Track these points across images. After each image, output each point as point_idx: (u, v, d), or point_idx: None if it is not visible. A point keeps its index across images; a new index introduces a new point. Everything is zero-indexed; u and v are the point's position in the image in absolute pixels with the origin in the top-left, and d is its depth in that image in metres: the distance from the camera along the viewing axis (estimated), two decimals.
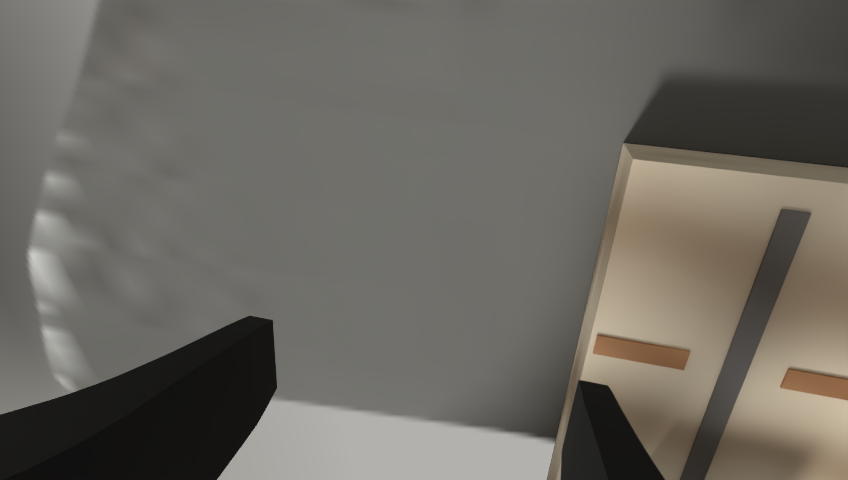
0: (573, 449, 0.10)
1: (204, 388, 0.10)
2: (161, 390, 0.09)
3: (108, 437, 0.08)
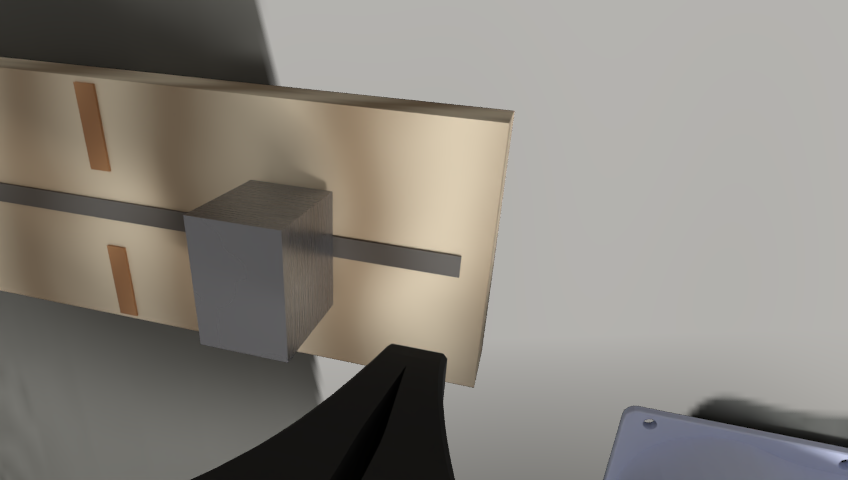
0: None
1: (377, 427, 0.09)
2: (355, 435, 0.08)
3: None
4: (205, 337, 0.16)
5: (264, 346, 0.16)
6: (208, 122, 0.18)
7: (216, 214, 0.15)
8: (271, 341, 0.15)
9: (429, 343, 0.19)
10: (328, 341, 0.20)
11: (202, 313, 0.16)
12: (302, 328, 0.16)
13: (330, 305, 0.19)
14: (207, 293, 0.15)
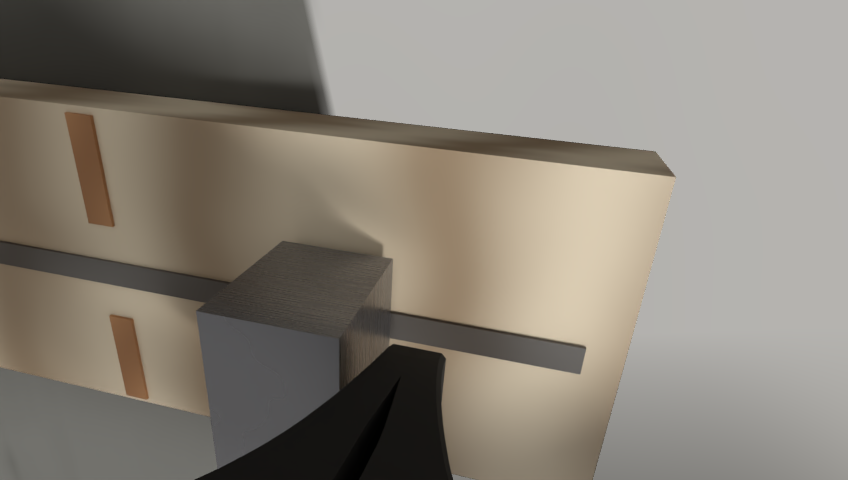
0: None
1: (379, 428, 0.09)
2: (357, 435, 0.08)
3: None
4: None
5: None
6: (245, 167, 0.13)
7: (242, 308, 0.10)
8: None
9: (529, 450, 0.15)
10: None
11: (221, 436, 0.11)
12: None
13: None
14: (227, 411, 0.11)
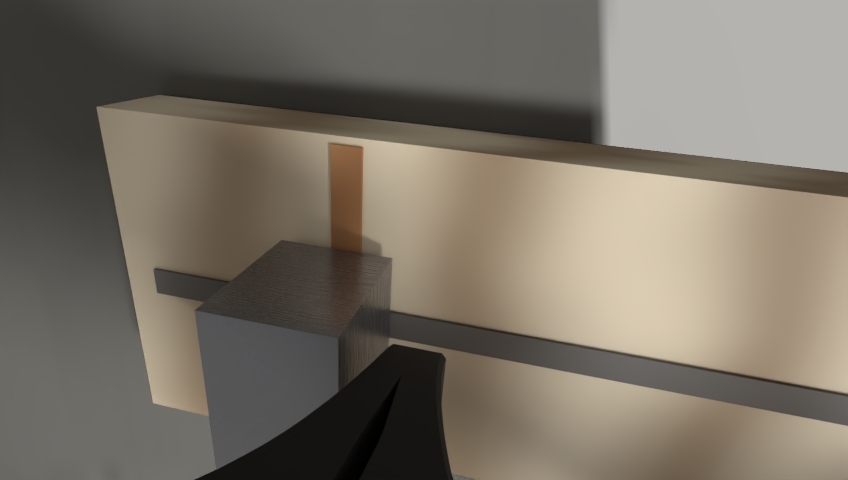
0: None
1: (379, 428, 0.09)
2: (357, 435, 0.08)
3: None
4: (223, 465, 0.12)
5: None
6: (544, 207, 0.12)
7: (241, 308, 0.10)
8: None
9: None
10: None
11: (220, 435, 0.11)
12: None
13: None
14: (226, 411, 0.11)
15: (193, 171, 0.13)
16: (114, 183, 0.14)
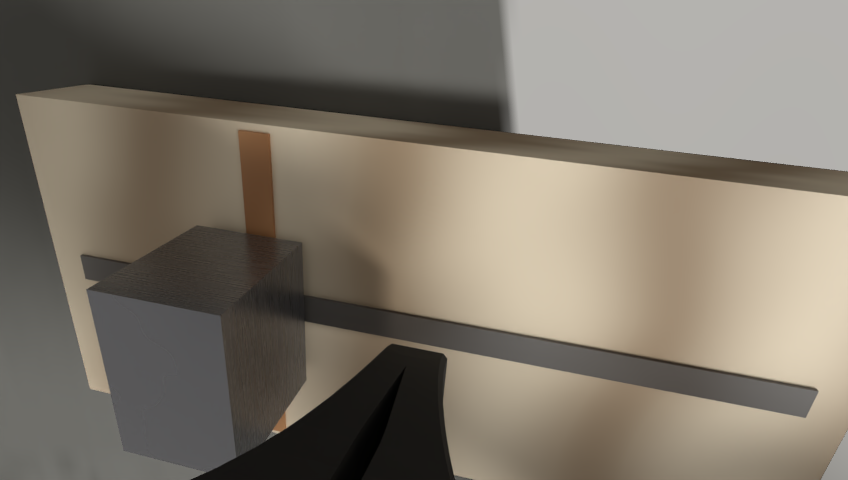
0: None
1: (377, 427, 0.09)
2: (355, 434, 0.08)
3: None
4: (129, 443, 0.12)
5: (206, 458, 0.12)
6: (443, 192, 0.12)
7: (133, 287, 0.10)
8: (215, 453, 0.11)
9: None
10: None
11: (122, 414, 0.12)
12: (261, 427, 0.12)
13: (302, 382, 0.14)
14: (126, 389, 0.11)
15: (111, 157, 0.14)
16: (38, 170, 0.14)
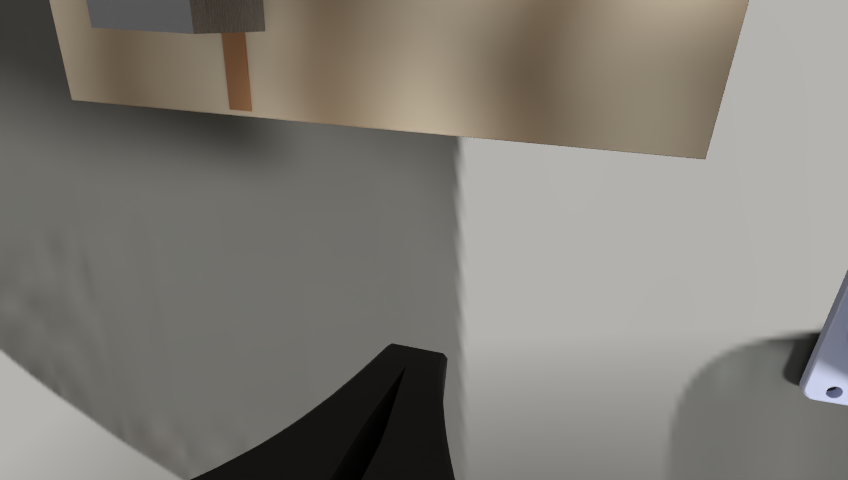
0: None
1: (377, 427, 0.09)
2: (355, 435, 0.08)
3: None
4: (95, 15, 0.13)
5: (164, 14, 0.13)
6: None
7: None
8: (171, 3, 0.13)
9: (650, 98, 0.15)
10: (507, 115, 0.16)
11: None
12: (216, 11, 0.14)
13: (260, 27, 0.16)
14: None
15: None
16: None
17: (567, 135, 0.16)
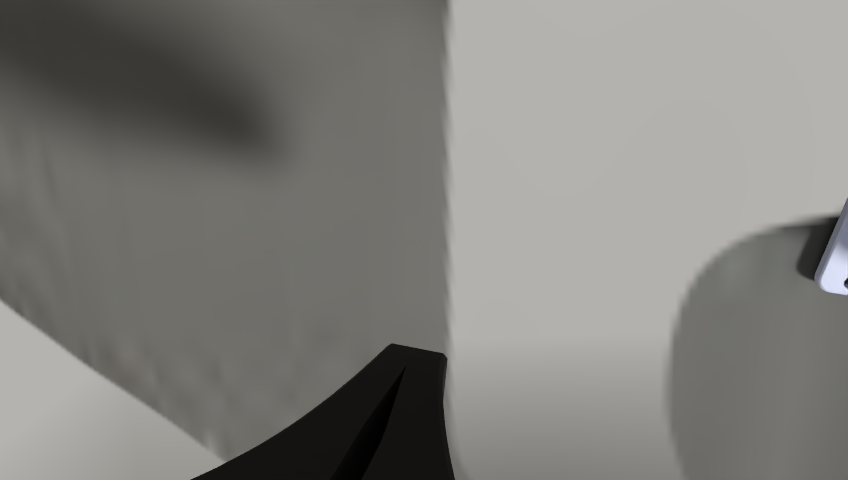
0: None
1: (377, 427, 0.09)
2: (355, 435, 0.08)
3: None
4: None
5: None
6: None
7: None
8: None
9: None
10: None
11: None
12: None
13: None
14: None
15: None
16: None
17: None
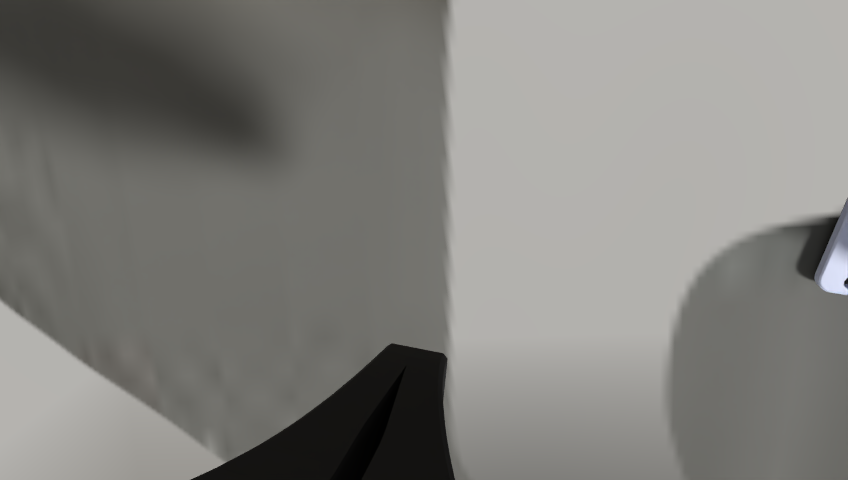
0: None
1: (377, 427, 0.09)
2: (355, 435, 0.08)
3: None
4: None
5: None
6: None
7: None
8: None
9: None
10: None
11: None
12: None
13: None
14: None
15: None
16: None
17: None
